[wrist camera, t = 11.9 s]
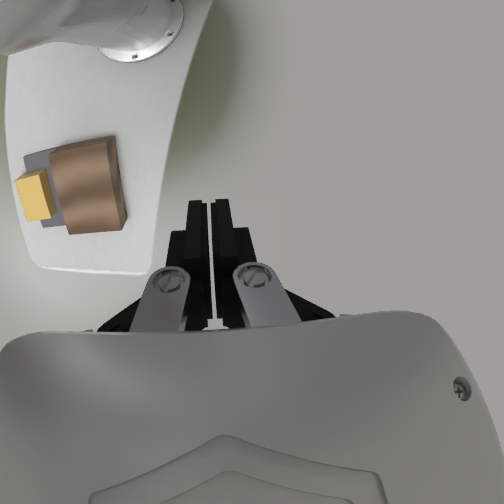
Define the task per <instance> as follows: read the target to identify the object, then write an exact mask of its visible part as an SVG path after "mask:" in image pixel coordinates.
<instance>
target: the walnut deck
mask: <svg viewBox="0 0 504 504" xmlns="http://www.w3.org/2000/svg"><path fill="white" fill-rule="evenodd" d="M48 157H49V162H50V167H51V171H52V176H53V180H54V184H55V188H56V192H57V196H58V200H59V203H60V207H61V210H62V214H63V217H64V220H65V223H66V227H67V230H68V233H69V235H72V234H83V233H94V232H106V231H119V230H122V229H123V226H124V224H125V222H126V220H127V212H126V207H125V202H124V196H123V191H122V185H121V179H120V172H119V166H118V159H117V151H116V143H115V136H109V137H103V138H98V139H92V140H87V141H82V142H78V143H73V144H69V145H64V146H60V147H58V148H57V149H55V150H54V151H52V152H51V153H50V154H48Z"/></svg>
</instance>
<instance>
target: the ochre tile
mask: <svg viewBox="0 0 504 504" xmlns="http://www.w3.org/2000/svg"><path fill="white" fill-rule="evenodd" d="M15 185H16V188H17V192H18V195H19V199H20V202H21V205H22V208H23V211H24V214H25V217H26V220H27V222H30V221H36V220H43V219H49V218H52V217H53V215H54V214H55V213H56V212H57V210H56V207H55V203H54V200H53V196H52V193H51V189H50V185H49V181H48V177H47V173H46V169H43V170H39V171H35V172H32V173H28V174H24V175H21V176H20V177H19V178H17V179H16V180H15Z"/></svg>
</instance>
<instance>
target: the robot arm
mask: <svg viewBox="0 0 504 504" xmlns="http://www.w3.org/2000/svg"><path fill="white" fill-rule="evenodd" d="M183 18H184V14H183V7H182V4H181V2H180V0H175V2H172V0H0V57H2V56H6V55H10V54H14V53H18V52H21V51H24V50H27V49H30V48H33V47H36V46H39V45H43V44H46V43H51V42H68V43H75V44H83V45H90V46H96V47H98V49H99V50H100V52H101V53H102V54H103V55H105V56H106V57H108V58H109V59H112V60H115V61H118V62H127V63H131V62H139V61H143V60H146V59H149V58H151V57H153V56H155V55H157V54H158V53H160V52H162V51H163V50H164V49H165V48H167V47H168V46H169V45H170V44H171V43H172V42H173V40H174V39H175V38H176V36H177V35H178V33H179V31H180V29H181V26H182V23H183ZM170 33H173V35H172V36H170ZM136 55H138V58H135V56H136ZM211 223H212V246H213V265H214V282H215V296H216V309H217V318H223V326H227V327H228V328H230V329H217V330H202V329H204V328H205V327H208V321H207V319H212V318H213V315H212V301H211V280H210V258H209V241H208V221H207V203H202V200H194V201H193V200H192V201H189V205H188V213H187V222H186V230H183V231H172V232H171V236H170V242H169V248H168V254H167V260H166V267H165V268H161V269H159V270H157V271H155V272H154V273H153V274H152V275H151V276H150V278H149V280H148V282H147V284H146V287H145V289H144V292H143V295H142V297H141V298H140V299H138V300H137V301H135V302H134V303H133V304H131V305H130V306H128V307H127V308H125V309H124V310H123V311H121V312H120V313H118V314H117V315H115V316H114V317H113V318H111V319H110V320H109V321H107V322H106V323H104V324H103V325H102V326H101V327H100V328H99V329H98V330H97V332H93V330H92V329H91V330H86V331H77V332H76V331H47V332H36V333H31V334H27V335H24V336H21V337H18V338H16V339H14V340H12V341H10V342H9V343H7V344H6V345H5V346H4V347H3V349H2V350H1V352H0V504H504V456H503V452H502V449H501V446H500V442H499V439H498V435H497V432H496V429H495V426H494V423H493V420H492V418H491V415H490V412H489V410H488V407H487V405H486V403H485V400H484V398H483V396H482V393H481V391H480V389H479V387H478V385H477V382H476V380H475V378H474V376H473V374H472V372H471V370H470V368H469V366H468V365H467V363H466V361H465V359H464V357H463V356H462V354H461V352H460V351H459V349H458V347H457V346H456V344H455V343H454V341H453V340H452V338H451V337H450V336H449V334H448V333H447V332H446V331H445V329H444V328H443V327H442V326H441V325H440V324H439V323H438V322H437V321H436V320H434V319H433V318H431V317H429V316H426V315H424V314H420V313H415V312H409V311H380V312H372V313H364V314H356V315H345V314H340V316H339V317H335V316H334V315H333V314H332V313H330V312H329V311H327V310H325V309H323V308H321V307H319V306H317V305H315V304H313V303H311V302H309V301H307V300H305V299H303V298H301V297H299V296H298V295H296V294H293V293H292V292H290V291H288V290H286V289H284V288H283V286H282V284H281V282H280V280H279V279H278V277H277V275H276V273H275V272H274V270H273V269H272V268H271V267H269V266H268V265H265V264H263V263H258V262H257V260H256V256H255V252H254V248H253V245H252V240H251V237H250V233H249V229H248V228H247V227H244V228H233V224H232V218H231V212H230V206H229V200H228V199H216V203H211Z"/></svg>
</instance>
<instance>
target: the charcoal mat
mask: <svg viewBox="0 0 504 504" xmlns="http://www.w3.org/2000/svg"><path fill="white" fill-rule="evenodd" d="M57 148H58V147H56V148H52V149H48V150H44V151H41V152H37V153H34V154H30V155H27V156H24V157H23V158H24V162H25V167H26V171H27V174H28V173H32V172H35V171H39V170H43V169H46V173H47V177H48V181H49V185H50V189H51V193H52V196H53V200H54V203H55V207H56V210H57V212H56V213H55V214H54V215H53V217H52V218H49V219H43V220H41V223H42V226H43V228H45V227H53V226H62V225H66V223H65V220H64V217H63V214H62V210H61V207H60V203H59V200H58V196H57V192H56V188H55V184H54V180H53V176H52V171H51V167H50V162H49V157H48V154H50V153H51V152H52V151H54V150H55V149H57Z"/></svg>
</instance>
